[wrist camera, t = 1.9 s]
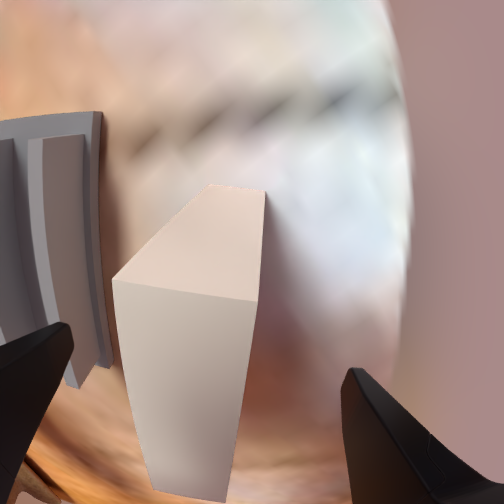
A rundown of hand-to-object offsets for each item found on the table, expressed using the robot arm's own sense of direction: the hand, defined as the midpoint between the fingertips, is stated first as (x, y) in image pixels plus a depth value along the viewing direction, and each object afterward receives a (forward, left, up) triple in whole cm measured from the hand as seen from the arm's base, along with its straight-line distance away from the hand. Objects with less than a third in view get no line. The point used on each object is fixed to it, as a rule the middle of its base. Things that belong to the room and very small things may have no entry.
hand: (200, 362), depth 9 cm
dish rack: (0, +14, -6) cm, 16 cm away
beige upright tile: (0, 0, -6) cm, 6 cm away
